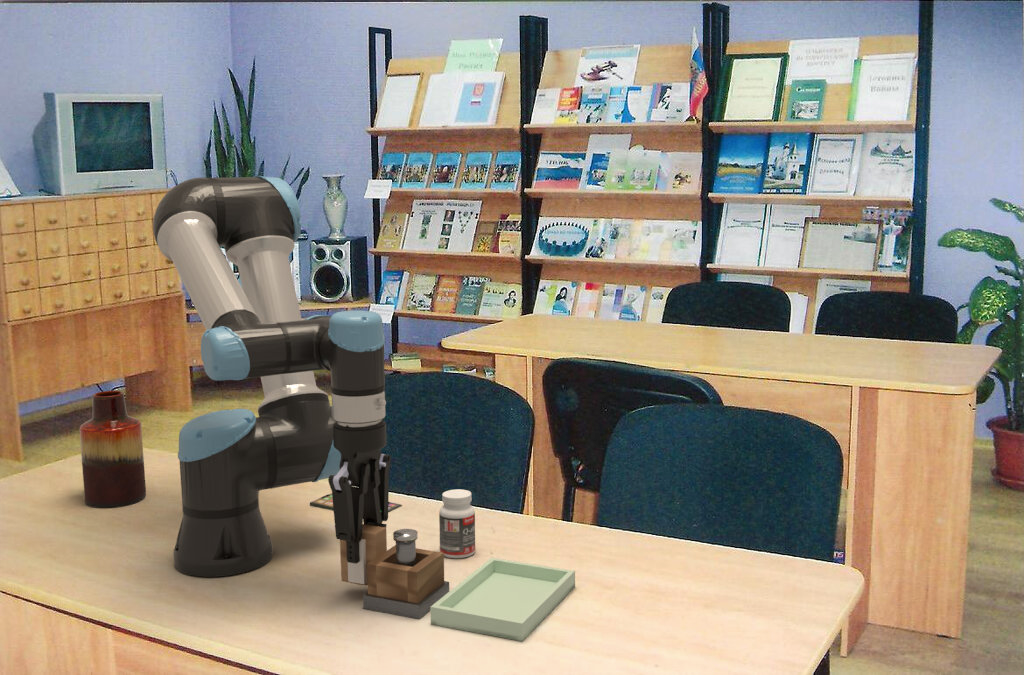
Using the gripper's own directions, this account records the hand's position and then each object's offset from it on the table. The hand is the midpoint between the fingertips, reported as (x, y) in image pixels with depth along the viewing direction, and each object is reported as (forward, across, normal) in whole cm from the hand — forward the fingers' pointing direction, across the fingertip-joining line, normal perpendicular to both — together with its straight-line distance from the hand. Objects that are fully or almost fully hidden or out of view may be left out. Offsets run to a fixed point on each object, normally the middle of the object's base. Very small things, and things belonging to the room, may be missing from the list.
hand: (364, 577), depth 155 cm
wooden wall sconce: (+1, 0, -4) cm, 4 cm away
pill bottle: (+3, +20, -5) cm, 21 cm away
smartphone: (+3, +34, +23) cm, 41 cm away
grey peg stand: (+3, 0, -7) cm, 8 cm away
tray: (+3, +4, -21) cm, 21 cm away
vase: (+3, +20, +67) cm, 70 cm away
